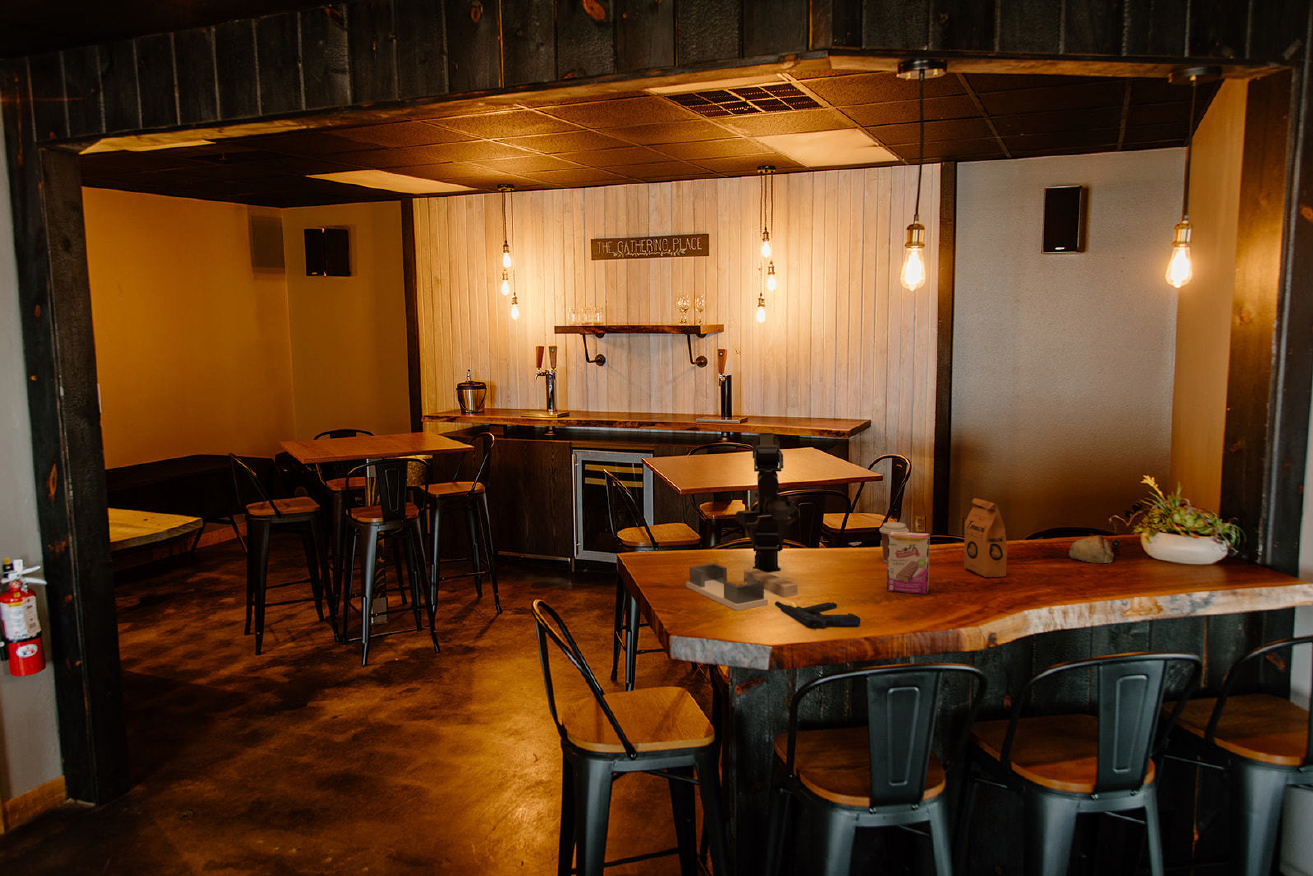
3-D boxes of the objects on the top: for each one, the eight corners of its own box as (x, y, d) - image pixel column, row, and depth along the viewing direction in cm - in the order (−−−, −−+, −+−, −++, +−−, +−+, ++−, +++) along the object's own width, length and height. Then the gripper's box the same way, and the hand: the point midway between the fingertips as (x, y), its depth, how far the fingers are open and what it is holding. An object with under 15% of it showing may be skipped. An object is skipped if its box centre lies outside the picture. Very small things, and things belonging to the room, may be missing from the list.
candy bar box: (886, 592, 245) (887, 534, 244) (888, 587, 250) (888, 530, 248) (928, 595, 242) (929, 536, 240) (929, 590, 246) (929, 533, 245)
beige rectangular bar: (743, 582, 259) (743, 570, 259) (756, 580, 262) (756, 568, 261) (784, 599, 242) (784, 586, 242) (797, 596, 244) (797, 584, 244)
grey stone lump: (1122, 564, 270) (1123, 539, 269) (1082, 565, 270) (1083, 540, 269) (1100, 553, 284) (1100, 529, 283) (1061, 554, 284) (1062, 530, 283)
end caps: (689, 582, 254) (689, 567, 253) (714, 578, 258) (714, 563, 257) (737, 604, 232) (736, 587, 231) (763, 599, 236) (763, 582, 235)
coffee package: (980, 579, 256) (982, 505, 254) (959, 569, 268) (960, 498, 266) (1012, 577, 258) (1014, 504, 255) (989, 567, 270) (991, 496, 268)
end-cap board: (686, 587, 254) (686, 581, 254) (715, 582, 259) (715, 577, 259) (736, 610, 231) (736, 605, 231) (767, 604, 235) (767, 599, 235)
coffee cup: (885, 556, 285) (885, 520, 284) (912, 560, 280) (913, 523, 279) (874, 562, 278) (874, 525, 277) (902, 566, 273) (903, 528, 271)
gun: (821, 604, 240) (771, 609, 235) (821, 593, 239) (771, 599, 235) (868, 627, 217) (813, 633, 213) (868, 616, 217) (813, 622, 212)
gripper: (755, 496, 238) (755, 553, 239) (811, 491, 246) (811, 545, 247) (733, 491, 248) (734, 545, 249) (788, 486, 256) (788, 539, 257)
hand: (767, 544), depth 250 cm, fingers open, 9 cm apart
